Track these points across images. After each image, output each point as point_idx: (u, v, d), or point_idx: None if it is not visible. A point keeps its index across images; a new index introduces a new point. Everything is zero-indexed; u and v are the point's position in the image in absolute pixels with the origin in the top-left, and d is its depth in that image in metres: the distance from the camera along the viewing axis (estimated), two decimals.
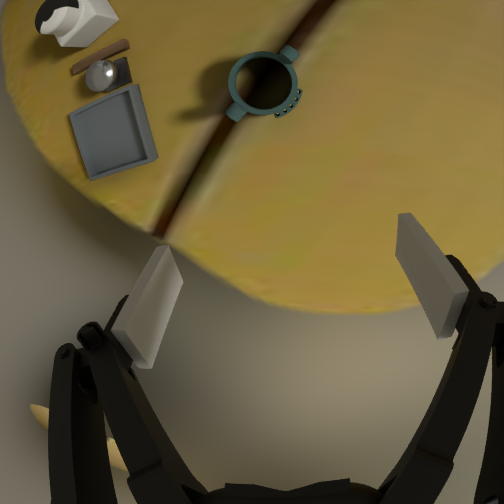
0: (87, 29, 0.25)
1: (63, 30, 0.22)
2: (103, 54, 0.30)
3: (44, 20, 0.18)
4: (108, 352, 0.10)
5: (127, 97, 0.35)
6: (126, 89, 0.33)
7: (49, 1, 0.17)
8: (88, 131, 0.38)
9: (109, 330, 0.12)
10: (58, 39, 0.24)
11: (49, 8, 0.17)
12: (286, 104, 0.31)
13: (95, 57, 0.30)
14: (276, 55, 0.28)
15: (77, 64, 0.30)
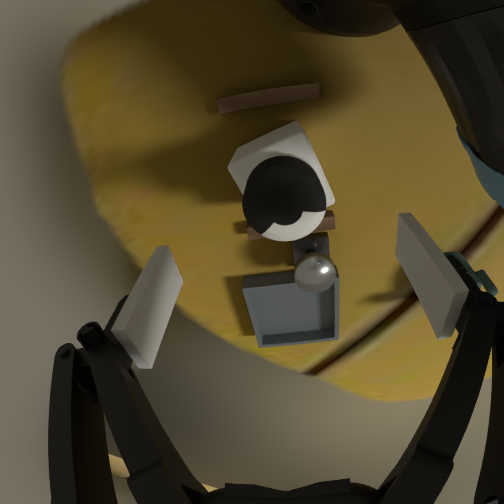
0: None
1: None
2: None
3: (278, 221, 0.20)
4: (108, 352, 0.10)
5: None
6: None
7: (288, 184, 0.19)
8: (260, 301, 0.40)
9: (109, 330, 0.12)
10: None
11: (289, 201, 0.19)
12: None
13: None
14: (476, 276, 0.30)
15: None
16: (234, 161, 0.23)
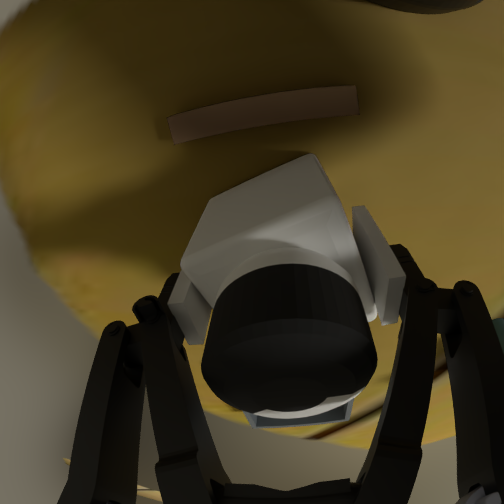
0: None
1: None
2: None
3: (275, 408, 0.09)
4: (163, 329, 0.11)
5: None
6: None
7: (301, 363, 0.07)
8: None
9: None
10: None
11: (301, 387, 0.08)
12: None
13: None
14: None
15: None
16: (192, 252, 0.12)
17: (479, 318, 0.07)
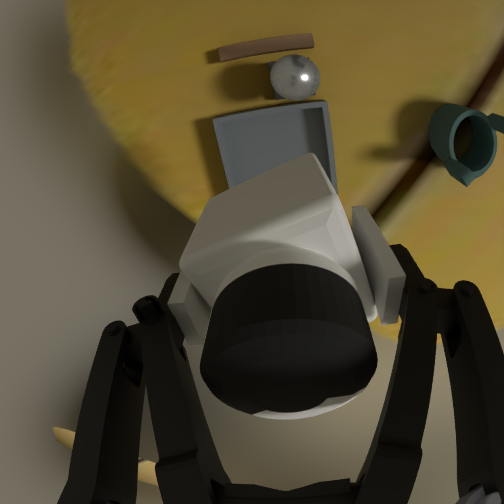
0: None
1: None
2: (278, 45, 0.24)
3: (274, 409, 0.09)
4: (163, 329, 0.11)
5: (308, 114, 0.29)
6: (319, 105, 0.26)
7: (301, 364, 0.07)
8: (236, 148, 0.32)
9: None
10: None
11: (301, 388, 0.08)
12: (486, 169, 0.25)
13: (263, 46, 0.24)
14: (487, 118, 0.22)
15: (228, 48, 0.24)
16: (191, 252, 0.12)
17: (479, 318, 0.07)
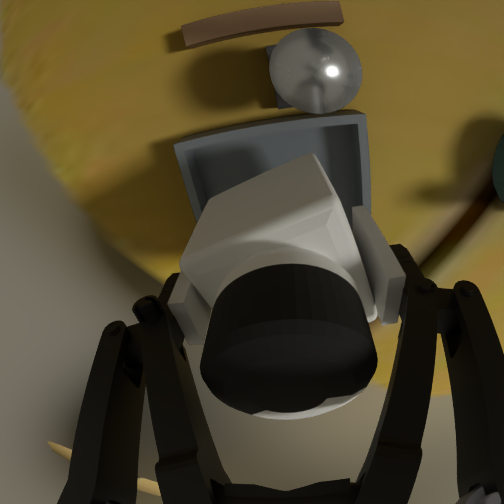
0: None
1: None
2: (283, 17, 0.13)
3: (274, 409, 0.09)
4: (163, 329, 0.11)
5: (331, 134, 0.18)
6: (352, 121, 0.15)
7: (301, 364, 0.07)
8: (215, 187, 0.21)
9: None
10: None
11: (301, 388, 0.08)
12: None
13: (258, 19, 0.13)
14: None
15: (199, 24, 0.13)
16: (191, 252, 0.12)
17: (479, 318, 0.07)
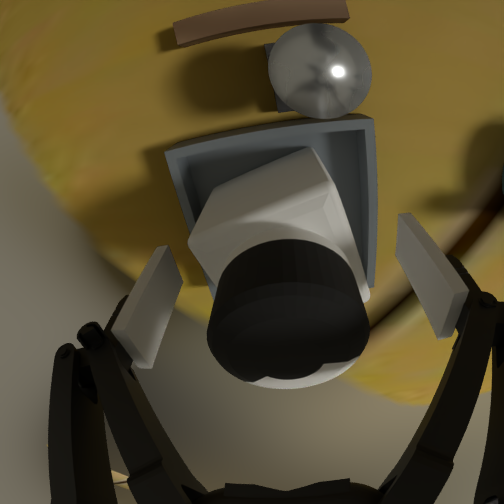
0: None
1: None
2: (283, 12, 0.12)
3: (274, 375, 0.10)
4: (108, 352, 0.10)
5: (336, 139, 0.16)
6: (359, 126, 0.14)
7: (300, 325, 0.09)
8: None
9: (109, 330, 0.12)
10: None
11: (300, 351, 0.09)
12: None
13: (256, 14, 0.12)
14: None
15: (192, 21, 0.12)
16: (199, 232, 0.13)
17: None
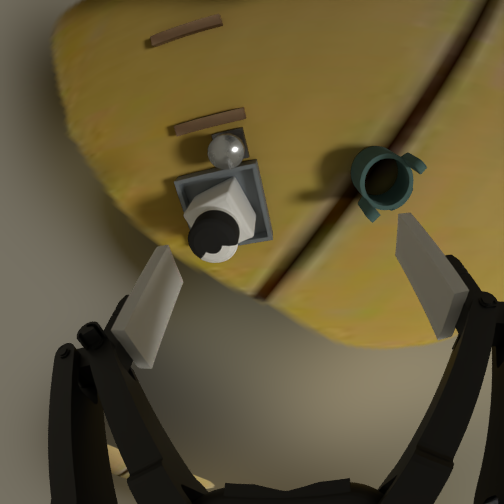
0: None
1: None
2: (217, 120, 0.36)
3: (208, 251, 0.34)
4: (108, 352, 0.10)
5: (245, 172, 0.41)
6: (250, 167, 0.39)
7: (211, 230, 0.33)
8: None
9: (109, 330, 0.12)
10: None
11: (213, 240, 0.33)
12: (402, 201, 0.37)
13: (207, 122, 0.36)
14: (401, 158, 0.34)
15: (181, 126, 0.37)
16: (187, 211, 0.37)
17: None
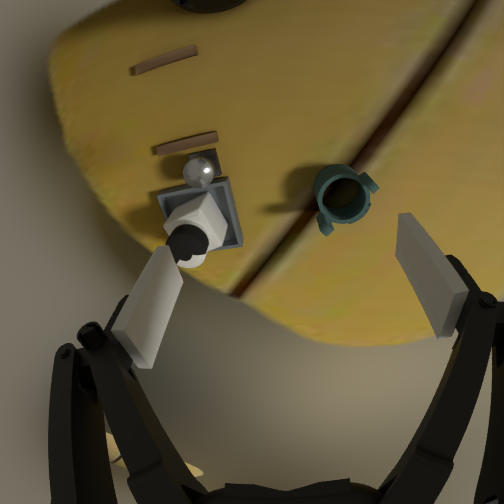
0: None
1: None
2: (193, 143, 0.42)
3: (181, 259, 0.40)
4: (108, 352, 0.10)
5: (218, 188, 0.47)
6: (220, 184, 0.44)
7: (183, 242, 0.39)
8: None
9: (109, 330, 0.12)
10: None
11: (185, 250, 0.39)
12: (359, 216, 0.43)
13: (184, 145, 0.42)
14: (357, 178, 0.40)
15: (162, 147, 0.42)
16: (166, 223, 0.43)
17: None
